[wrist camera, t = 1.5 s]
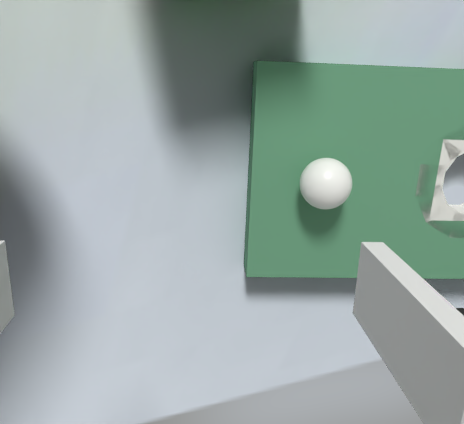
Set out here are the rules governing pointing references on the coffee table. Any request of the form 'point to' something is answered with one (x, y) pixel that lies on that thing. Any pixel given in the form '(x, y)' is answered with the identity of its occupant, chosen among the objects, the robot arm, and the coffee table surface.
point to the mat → (354, 167)
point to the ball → (325, 183)
